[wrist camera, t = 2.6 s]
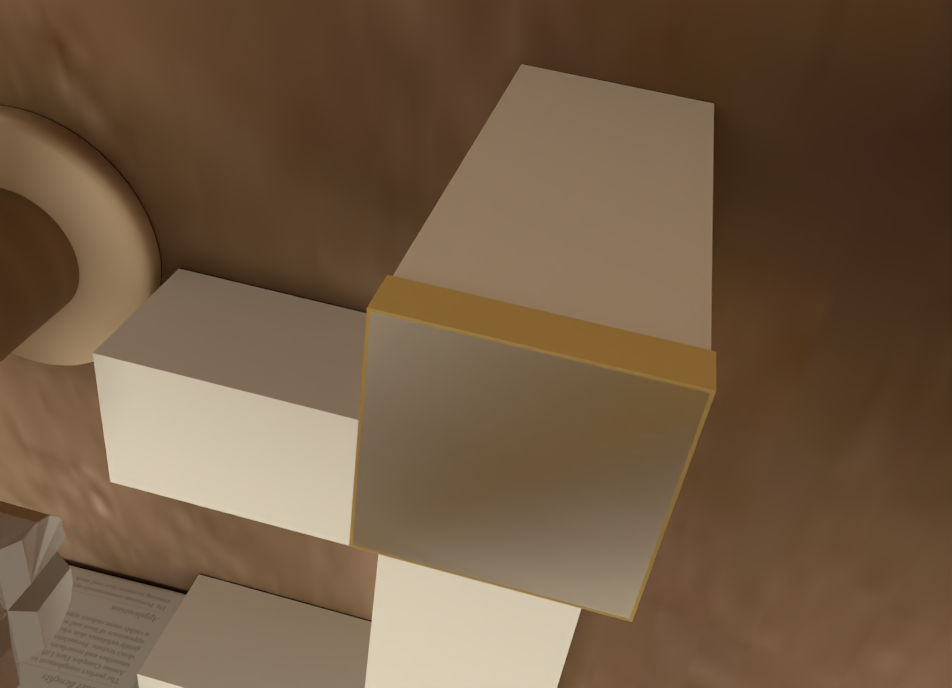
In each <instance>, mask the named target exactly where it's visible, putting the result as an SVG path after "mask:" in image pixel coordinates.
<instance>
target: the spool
mask: <svg viewBox="0 0 952 688" xmlns="http://www.w3.org/2000/svg"><path fill="white" fill-rule="evenodd" d="M160 283H161V261H160V254H159V248H158V244H157V241H156V237H155V234H154V231H153V228H152V226H151V224H150V221H149V219H148V216H147V214H146V212H145V211H144V209H143V207H142V205H141V203H140V201H139V200H138V198H137V197H136V195H135V194H134V192H133V191H132V189H131V188H130V186H129V185H128V183H127V182H126V181H125V180H124V178H123V177H122V176H121V175H120V174H119V172H118V171H117V170H116V169H115V168H114V167H113V166H112V165H111V164H110V163H109V162H108V161H107V160H106V159H105V158H104V157H103V156H102V155H101V154H100V153H99V152H98V151H97V150H95V149H94V148H93V147H92V146H91V145H89V144H88V143H87V142H86V141H85V140H83V139H82V138H80V137H79V136H77V135H76V134H74V133H73V132H71V131H70V130H68V129H66V128H65V127H63V126H61V125H59V124H57V123H56V122H54V121H52V120H49V119H47V118H45V117H42V116H40V115H38V114H35V113H32V112H29V111H25V110H22V109H18V108H13V107H7V106H0V362H1V361H2V360H3V359H4V358H5V357H7V356H8V355H9V354H10V353H11V354H14V355H16V356H19V357H22V358H25V359H28V360H32V361H35V362H40V363H45V364H51V365H63V366H65V365H80V364H86V363H91V362H94V360H93V352H94V351H95V350H96V349H97V348H98V347H99V346H100V345H101V344H102V343H103V342H104V341H105V340H106V339H107V338H108V337H109V336H110V335H111V334H113V333H114V332H115V331H116V330H117V329H118V328H119V327H120V326H121V325H122V324H123V323H124V322H125V321H126V320H127V319H128V318H129V317H130V316H131V315H132V314H133V313H134V312H135V311H136V310H137V309H138V308H139V307H140V306H141V305H142V304H143V303H144V302H145V301H146V300H147V299H148V298H149V297H150V296H151V295H152V294H153V293H154V292H155V291H156V290H157V289H158V288H159V287H160Z"/></svg>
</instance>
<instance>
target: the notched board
mask: <svg viewBox="0 0 952 688" xmlns="http://www.w3.org/2000/svg"><path fill="white" fill-rule="evenodd" d="M366 314H367V313H363V312H359V311H355V310H351V309H346V308H342V307H338V306H334V305H330V304H325V303H321V302H317V301H313V300H309V299H305V298H300V297H296V296H292V295H288V294H284V293H279V292H275V291H271V290H267V289H263V288H259V287H254V286H250V285H246V284H242V283H238V282H233V281H229V280H225V279H221V278H217V277H212V276H208V275H204V274H200V273H196V272H192V271H187V270H183V269H178V270H177V271H176V272H175V273H174V274H173V275H172V276H171V277H170V278H169V279H168V280H167V281H166V282H165V283H164V284H163V285H162V286H160V287H159V288H158V289H157V290H156V291H155V292H154V293H153V294H152V295H151V296H150V297H149V298H148V299H147V300H146V301H145V302H144V303H143V304H142V305H141V306H140V307H139V308H138V309H137V310H136V311H135V312H134V313H133V314H132V315H131V316H130V317H129V318H128V319H127V320H126V321H125V322H124V323H123V324H122V325H121V326H120V327H119V328H118V329H117V330H116V331H115V332H114V333H113V334H111V335H110V336H109V337H108V338H107V339H106V340H105V341H104V342H103V343H102V344H101V345H100V346H99V347H98V348H97V349H96V350H95V351H94V352H93V360H94V367H95V374H96V381H97V389H98V396H99V403H100V410H101V418H102V425H103V432H104V439H105V446H106V454H107V461H108V468H109V475H110V482H113V483H117V484H121V485H124V486H128V487H132V488H136V489H139V490H143V491H147V492H151V493H154V494H158V495H162V496H166V497H169V498H173V499H177V500H181V501H184V502H188V503H192V504H195V505H199V506H203V507H207V508H210V509H214V510H218V511H222V512H225V513H229V514H233V515H237V516H240V517H244V518H248V519H252V520H255V521H259V522H263V523H267V524H270V525H274V526H278V527H281V528H285V529H289V530H293V531H296V532H300V533H304V534H308V535H311V536H315V537H319V538H323V539H326V540H330V541H334V542H338V543H341V544H345V545H349V539H350V526H351V513H352V499H353V486H354V473H355V459H356V446H357V433H358V420H359V406H360V393H361V380H362V367H363V353H364V340H365V327H366ZM580 611H581V608H578V607H574V606H570V605H566V604H563V603H559V602H555V601H551V600H548V599H544V598H540V597H536V596H533V595H529V594H525V593H522V592H518V591H514V590H510V589H507V588H503V587H499V586H495V585H492V584H488V583H484V582H480V581H477V580H473V579H469V578H466V577H462V576H458V575H454V574H451V573H447V572H443V571H439V570H436V569H432V568H428V567H424V566H421V565H417V564H413V563H409V562H406V561H402V560H398V559H395V558H391V557H387V556H383V555H380V554H379V556H378V565H377V575H376V585H375V594H374V604H373V613H372V622H370V621H366V620H363V619H359V618H356V617H352V616H348V615H345V614H341V613H337V612H334V611H330V610H327V609H323V608H319V607H316V606H312V605H308V604H305V603H301V602H298V601H294V600H290V599H287V598H283V597H279V596H276V595H272V594H269V593H265V592H261V591H258V590H254V589H250V588H247V587H243V586H240V585H236V584H232V583H229V582H225V581H222V580H218V579H214V578H211V577H207V576H203V575H200V574H199V575H198V577H197V578H196V580H195V582H194V583H193V585H192V586H191V588H190V590H189V591H188V593H187V595H186V596H185V598H184V599H183V601H182V603H181V604H180V606H179V607H178V609H177V611H176V612H175V614H174V615H173V617H172V619H171V620H170V622H169V623H168V625H167V627H166V628H165V630H164V631H163V633H162V635H161V636H160V638H159V639H158V641H157V643H156V644H155V646H154V648H153V649H152V651H151V652H150V654H149V656H148V657H147V659H146V660H145V662H144V664H143V665H142V667H141V668H140V670H139V672H138V673H137V677H138V685H139V688H557V686H558V682H559V679H560V676H561V673H562V670H563V666H564V663H565V660H566V657H567V653H568V650H569V647H570V644H571V640H572V637H573V634H574V631H575V628H576V624H577V621H578V618H579V615H580Z"/></svg>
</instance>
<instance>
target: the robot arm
mask: <svg viewBox="0 0 952 688" xmlns="http://www.w3.org/2000/svg"><path fill="white" fill-rule="evenodd" d="M65 540H66V538H65V534H64V530H63V525H62V521H61V518H58V517H55V516H51V515H47V514H44V513H40V512H37V511H33V510H30V509H26V508H23V507H19V506H15V505H12V504H8V503H5V502H1V501H0V688H17V687H18V686H19V685H20V672H19V663H20V662H22V661H24V660H26V659H28V658H30V657H32V656H34V655H36V654H37V653H39V652H41V651H43V650H45V648H46V647H47V646H48V644H49V643H50V641H51V640H52V638H53V637H54V635H55V634H56V633H57V631H58V630H59V628H60V626H61V624H62V621H63V619H64V616H65V614H66V612H67V609H68V607H69V604H70V602H71V594H72V585H73V580H72V574H71V567H70V566H69V565H68V564H67V563H66V562H65V560H64V559H63V558H62V557H61V556H60V555H59V554H58V552H57V550H58V549H59V548H60V546H61V545H62V544H63V542H64V541H65Z"/></svg>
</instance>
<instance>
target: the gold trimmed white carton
mask: <svg viewBox="0 0 952 688" xmlns="http://www.w3.org/2000/svg"><path fill="white" fill-rule="evenodd" d="M713 153H714V103H709V102H704V101H699V100H694V99H689V98H685V97H680V96H675V95H670V94H665V93H660V92H655V91H650V90H646V89H641V88H636V87H631V86H626V85H621V84H616V83H611V82H607V81H602V80H597V79H592V78H587V77H582V76H577V75H572V74H568V73H563V72H558V71H553V70H548V69H543V68H538V67H533V66H529V65H524V64H521V66H520V68H519V69H518V71H517V72H516V74H515V76H514V77H513V79H512V81H511V82H510V84H509V86H508V87H507V89H506V91H505V92H504V94H503V95H502V97H501V99H500V100H499V102H498V104H497V105H496V107H495V109H494V110H493V112H492V114H491V115H490V117H489V118H488V120H487V122H486V123H485V125H484V127H483V128H482V130H481V132H480V133H479V135H478V137H477V138H476V140H475V141H474V143H473V145H472V146H471V148H470V150H469V151H468V153H467V155H466V156H465V158H464V160H463V161H462V163H461V164H460V166H459V168H458V169H457V171H456V173H455V174H454V176H453V178H452V179H451V181H450V183H449V184H448V186H447V187H446V189H445V191H444V192H443V194H442V196H441V197H440V199H439V201H438V202H437V204H436V206H435V207H434V209H433V211H432V212H431V214H430V215H429V217H428V219H427V220H426V222H425V224H424V225H423V227H422V229H421V230H420V232H419V234H418V235H417V237H416V238H415V240H414V242H413V243H412V245H411V247H410V248H409V250H408V252H407V253H406V255H405V257H404V258H403V260H402V261H401V263H400V265H399V266H398V268H397V270H396V271H395V273H394V275H393V276H391V275H387V276H386V278H385V279H384V281H383V282H382V284H381V286H380V287H379V289H378V290H377V292H376V294H375V295H374V297H373V298H372V300H371V302H370V303H369V305H368V307H367V314H366V327H365V340H364V353H363V367H362V380H361V393H360V406H359V420H358V433H357V446H356V459H355V473H354V486H353V499H352V513H351V526H350V539H349V546H350V547H353V548H357V549H361V550H365V551H368V552H372V553H376V554H380V555H383V556H387V557H391V558H395V559H398V560H402V561H406V562H409V563H413V564H417V565H421V566H424V567H428V568H432V569H436V570H439V571H443V572H447V573H451V574H454V575H458V576H462V577H466V578H469V579H473V580H477V581H480V582H484V583H488V584H492V585H495V586H499V587H503V588H507V589H510V590H514V591H518V592H522V593H525V594H529V595H533V596H536V597H540V598H544V599H548V600H551V601H555V602H559V603H563V604H566V605H570V606H574V607H578V608H581V609H585V610H589V611H592V612H596V613H600V614H604V615H607V616H611V617H615V618H619V619H622V620H626V621H630V622H632V621H633V618H634V615H635V612H636V610H637V607H638V604H639V601H640V599H641V596H642V593H643V590H644V588H645V585H646V582H647V579H648V577H649V574H650V571H651V568H652V566H653V563H654V560H655V557H656V555H657V552H658V549H659V546H660V544H661V541H662V538H663V535H664V533H665V530H666V527H667V524H668V522H669V519H670V516H671V513H672V511H673V508H674V505H675V502H676V500H677V497H678V494H679V491H680V489H681V486H682V483H683V480H684V478H685V475H686V472H687V470H688V467H689V464H690V461H691V459H692V456H693V453H694V450H695V448H696V445H697V442H698V439H699V437H700V434H701V431H702V428H703V426H704V423H705V420H706V417H707V415H708V412H709V409H710V406H711V404H712V401H713V398H714V395H715V393H716V351H712V350H711V315H712V234H713Z"/></svg>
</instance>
